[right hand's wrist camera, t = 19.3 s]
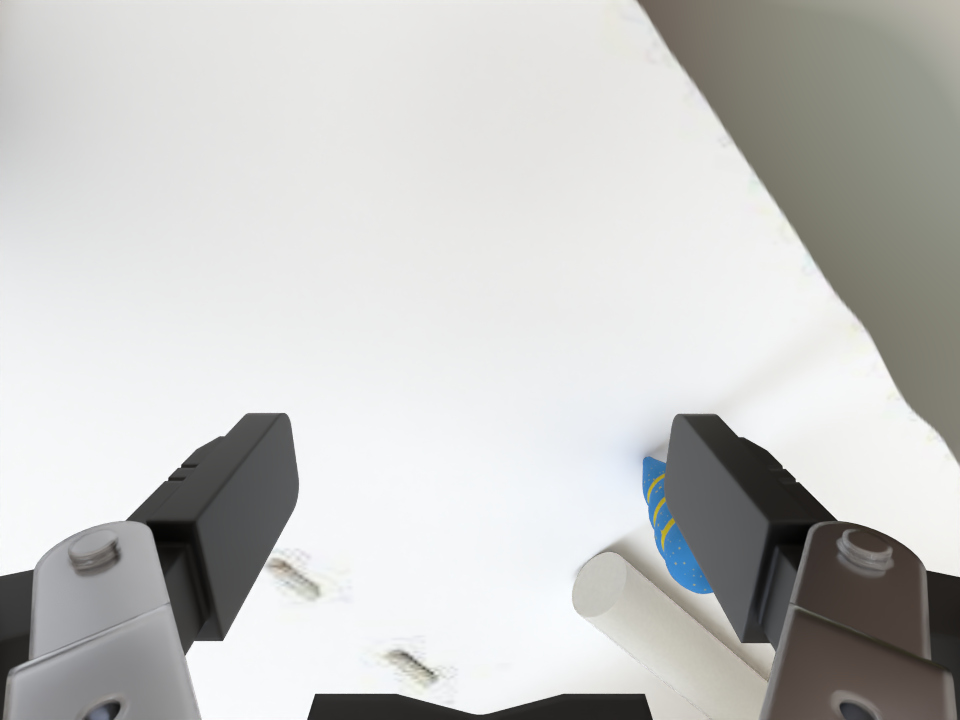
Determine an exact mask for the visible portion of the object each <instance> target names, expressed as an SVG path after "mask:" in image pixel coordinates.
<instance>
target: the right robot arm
mask: <svg viewBox="0 0 960 720" xmlns="http://www.w3.org/2000/svg"><path fill="white" fill-rule="evenodd" d="M298 491H299V478H298V471H297V463H296V456H295V449H294V442H293V435H292V428H291V423H290V419H289V417H288V415H287V414H285V413H248V414H246V415H245V416H244V417H243V418H242V419H241V420H240V421H239V422H238V423H237V424H236V425H235V426H234V427H233V428H232V429H231V430H230V431H229V433H228V434H227V435H226V436H220V437H218V438H216V439H214V440H213V441H211V442H209V443H207V444H205V445H204V446H202V447H200V448H198V449H197V450H196V451H195V452H194V453H193V454H192V455H191V456H190V457H189V458H188V459H187V460H186V461H185V462H184V463H183V464H182V465H181V468H178V469H177V470H176V471H175V472H174V473H173V474H172V475H171V476H170V477H169V478H168V481H165V482H164V483H163V484H162V485H161V486H160V487H159V488H158V489H157V490H156V491H155V492H154V493H153V494H152V495H151V496H150V497H149V498H148V499H147V500H146V501H145V502H144V503H143V504H142V505H141V506H140V507H139V508H138V509H137V510H136V511H135V512H134V513H133V514H132V515H131V516H130V517H129V518H128V519H127V520H126V521H118V522H111V523H106V524H102V525H98V526H94V527H91V528H89V529H86V530H83V531H81V532H79V533H76V534H74V535H72V536H70V537H68V538H67V539H65V540H63V541H62V542H60V543H58V544H57V545H55V546H54V547H53V548H51V549H50V550H49V551H48V552H47V553H46V554H45V555H44V556H43V557H42V558H41V559H40V560H39V562H38V563H37V565H36V567H35V569H34V570H29V571H24V572H19V573H14V574H10V575H5V576H0V720H202V719H201V715H200V711H199V707H198V704H197V700H196V696H195V692H194V688H193V684H192V681H191V677H190V673H189V669H188V665H187V662H186V658H185V655H186V654H187V652H188V650H189V649H190V647H191V645H192V644H193V642H194V641H223V640H224V638H225V636H226V634H227V632H228V631H229V629H230V627H231V625H232V623H233V621H234V619H235V618H236V616H237V614H238V612H239V610H240V608H241V606H242V605H243V603H244V601H245V599H246V597H247V595H248V594H249V592H250V590H251V588H252V586H253V584H254V582H255V581H256V579H257V577H258V575H259V573H260V571H261V569H262V568H263V566H264V564H265V562H266V560H267V558H268V557H269V555H270V553H271V551H272V549H273V547H274V545H275V544H276V542H277V540H278V538H279V536H280V534H281V532H282V531H283V529H284V527H285V525H286V523H287V521H288V520H289V518H290V516H291V514H292V512H293V510H294V508H295V506H296V502H297V498H298ZM664 494H665V500H666V504H667V507H668V510H669V512H670V513H671V515H672V517H673V519H674V521H675V523H676V524H677V526H678V528H679V530H680V532H681V534H682V535H683V537H684V539H685V541H686V543H687V544H688V546H689V548H690V550H691V552H692V554H693V555H694V557H695V559H696V561H697V563H698V565H699V566H700V568H701V570H702V572H703V574H704V576H705V577H706V579H707V581H708V583H709V585H710V586H711V588H712V590H713V592H714V594H715V596H716V597H717V599H718V601H719V603H720V605H721V607H722V608H723V610H724V612H725V614H726V616H727V618H728V619H729V621H730V623H731V625H732V627H733V629H734V630H735V632H736V634H737V636H738V638H739V639H740V641H741V643H771V645H772V646H773V648H774V650H775V651H776V654H775V658H774V662H773V665H772V669H771V673H770V677H769V681H768V684H767V688H766V692H765V696H764V700H763V704H762V707H761V711H760V715H759V719H758V720H960V577H956V576H951V575H946V574H942V573H937V572H932V571H927V570H926V569H925V567H924V565H923V563H922V562H921V560H920V559H919V558H918V557H917V556H916V555H915V554H914V553H913V552H912V551H911V550H910V549H909V548H907V547H906V546H905V545H903V544H902V543H900V542H898V541H897V540H895V539H893V538H892V537H890V536H888V535H886V534H884V533H881V532H879V531H877V530H874V529H871V528H869V527H866V526H862V525H858V524H854V523H849V522H842V521H838V520H837V519H835V518H834V517H833V516H832V515H831V514H830V513H829V512H828V511H827V510H826V509H825V508H824V507H823V506H822V505H821V504H820V503H819V502H818V501H817V500H816V499H815V498H814V497H813V496H812V495H811V494H810V493H809V492H808V491H807V490H806V489H805V488H804V487H803V486H802V485H801V484H800V483H799V482H796V479H795V478H794V477H793V476H792V475H791V474H790V473H789V472H788V471H787V470H786V469H783V466H782V465H781V464H780V463H779V462H778V461H777V460H776V459H775V458H774V457H773V456H772V455H771V454H770V453H769V452H768V451H767V450H765V449H763V448H762V447H760V446H758V445H756V444H755V443H753V442H751V441H749V440H747V439H746V438H744V437H738V436H737V435H736V434H735V433H734V432H733V431H732V430H731V429H730V428H729V427H728V426H727V425H726V423H725V422H724V421H723V420H722V419H721V418H720V417H719V416H718V415H716V414H677V415H676V416H675V418H674V420H673V423H672V428H671V435H670V442H669V449H668V456H667V463H666V470H665V477H664ZM307 720H653V719H652V716H651V712H650V709H649V706H648V703H647V700H646V696H645V694H561V695H558V696H554V697H550V698H546V699H543V700H539V701H535V702H531V703H527V704H524V705H520V706H516V707H512V708H509V709H505V710H501V711H497V712H493V713H490V714H484V715H476V714H470V713H467V712H463V711H459V710H455V709H451V708H448V707H444V706H440V705H436V704H433V703H429V702H425V701H421V700H417V699H414V698H410V697H406V696H402V695H399V694H315V696H314V700H313V703H312V706H311V709H310V712H309V716H308V719H307Z"/></svg>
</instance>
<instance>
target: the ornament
mask: <svg viewBox="0 0 960 720" xmlns="http://www.w3.org/2000/svg"><path fill="white" fill-rule="evenodd" d="M665 470H666V463H663V462H661V461H658V460H656V459H653V458H651V457H646V458H644V460H643V494H644V498H645V500H646V503H647V505H648V506H649V519H650V522H651V525H652V527H653V529H654V531H655V541H656V545H657V548H658V550H659V552H660V554H661V555H662V557H663V558H664V559H665V562H666V566H667V568H668V570H669V573H670V574H671V576H672V577H673V578H674V579H675V580H676V581H677V582H678V583H679V584H680V585H682V586H683V587H685V588H686V589H688V590H691V591H693V592H695V593H700V594H707V593H713V590H712V588H711V586H710V585H709V583H708V581H707V579H706V577H705V576H704V574H703V572H702V570H701V568H700V566H699V565H698V563H697V561H696V559H695V557H694V555H693V554H692V552H691V550H690V548H689V546H688V544H687V543H686V541H685V539H684V537H683V535H682V534H681V532H680V530H679V528H678V526H677V524H676V523H675V521H674V519H673V517H672V515H671V513H670V512H669V510H668V507H667V504H666V500H665V494H664V477H665Z"/></svg>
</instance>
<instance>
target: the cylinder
mask: <svg viewBox="0 0 960 720" xmlns="http://www.w3.org/2000/svg"><path fill="white" fill-rule="evenodd" d="M572 602H573V606H574V608H575V610H576V612H577V613H578V614H579V615H580V616H581V617H583V618H584V619H585V620H586V621H588V622H589V623H590V624H592V625H593V626H594V627H595V628H597V629H598V630H599V631H600V632H602V633H603V634H604V635H605V636H607V637H608V638H609V639H610V640H612V641H613V642H614V643H615V644H617V645H618V646H619V647H621V648H622V649H623V650H624V651H626V652H627V653H628V654H629V655H631V656H632V657H633V658H634V659H636V660H637V661H638V662H639V663H641V664H642V665H643V666H644V667H646V668H647V669H648V670H650V671H651V672H652V673H653V674H655V675H656V676H657V677H658V678H660V679H661V680H662V681H663V682H665V683H666V684H667V685H668V686H670V687H671V688H672V689H674V690H675V691H676V692H677V693H679V694H680V695H681V696H682V697H684V698H685V699H686V700H687V701H689V702H690V703H691V704H692V705H694V706H695V707H696V708H697V709H699V710H700V711H701V712H703V713H704V714H705V715H706V716H708V717H709V718H710V719H711V720H758V719H759V715H760V711H761V707H762V704H763V700H764V696H765V692H766V688H767V684H768V682H767V681H766V680H765V679H763V678H762V677H761V676H760V675H759V674H758V673H757V672H755V671H754V670H753V669H752V668H751V667H750V666H748V665H747V664H746V663H745V662H744V661H743V660H741V659H740V658H739V657H738V656H737V655H736V654H734V653H733V652H732V651H731V650H730V649H729V648H727V647H726V646H725V645H724V644H723V643H722V642H720V641H719V640H718V639H717V638H716V637H715V636H713V635H712V634H711V633H710V632H709V631H708V630H706V629H705V628H704V627H703V626H702V625H701V624H699V623H698V622H697V621H696V620H695V619H694V618H692V617H691V616H690V615H689V614H688V613H687V612H685V611H684V610H683V609H682V608H681V607H680V606H678V605H677V604H676V603H675V602H674V601H673V600H671V599H670V598H669V597H668V596H667V595H666V594H664V593H663V592H662V591H661V590H660V589H659V588H657V587H656V586H655V585H654V584H653V583H652V582H651V581H649V580H648V579H647V578H646V577H645V576H644V575H642V574H641V573H640V572H639V571H638V570H637V569H635V568H634V567H633V566H632V565H631V564H630V563H628V562H627V561H626V560H625V559H624V558H623V557H621V556H620V555H619V554H617V553H614V552H604V553H601V554H599V555H597V556H595V557H593V558H592V559H591V560H590V561H588V562H587V563H586V564H585V566H584V567H583V568H582V569H581V571H580V572H579V574H578V576H577V578H576V580H575V583H574V586H573V591H572Z"/></svg>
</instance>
